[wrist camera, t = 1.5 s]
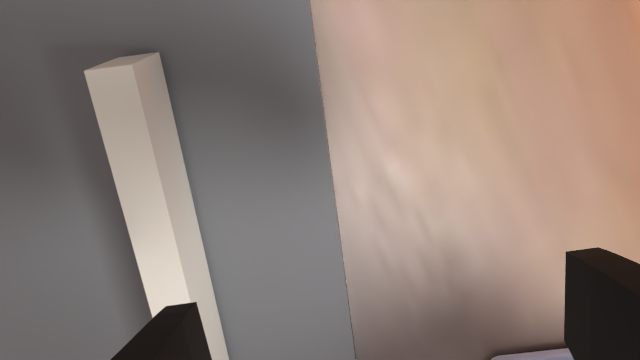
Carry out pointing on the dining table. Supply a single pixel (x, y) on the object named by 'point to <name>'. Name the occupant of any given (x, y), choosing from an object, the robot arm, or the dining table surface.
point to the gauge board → (201, 167)
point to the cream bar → (154, 187)
